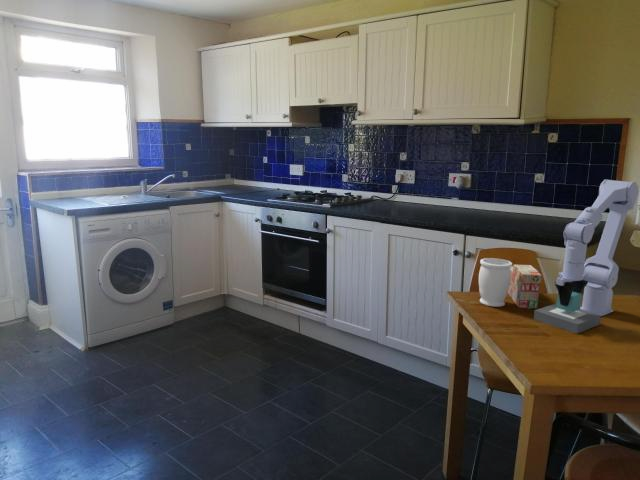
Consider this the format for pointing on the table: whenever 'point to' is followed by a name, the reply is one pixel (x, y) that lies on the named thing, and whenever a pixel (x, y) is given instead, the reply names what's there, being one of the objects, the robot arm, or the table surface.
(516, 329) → the table surface
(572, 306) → the teal cube
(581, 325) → the white-inset grey tile
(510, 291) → the stack of blocks
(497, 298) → the jar
